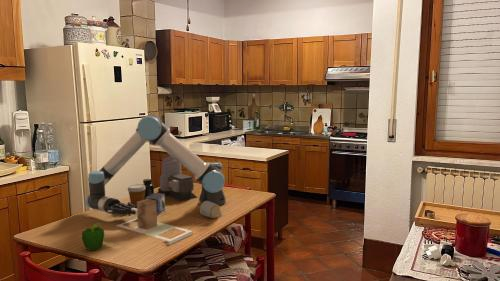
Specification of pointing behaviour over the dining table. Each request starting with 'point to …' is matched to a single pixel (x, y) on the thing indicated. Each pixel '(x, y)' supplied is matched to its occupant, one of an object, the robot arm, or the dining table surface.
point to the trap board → (159, 231)
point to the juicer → (175, 181)
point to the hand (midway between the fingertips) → (141, 213)
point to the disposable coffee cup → (136, 193)
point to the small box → (158, 201)
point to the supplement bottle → (148, 187)
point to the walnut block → (147, 214)
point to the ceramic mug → (210, 209)
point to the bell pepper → (93, 237)
